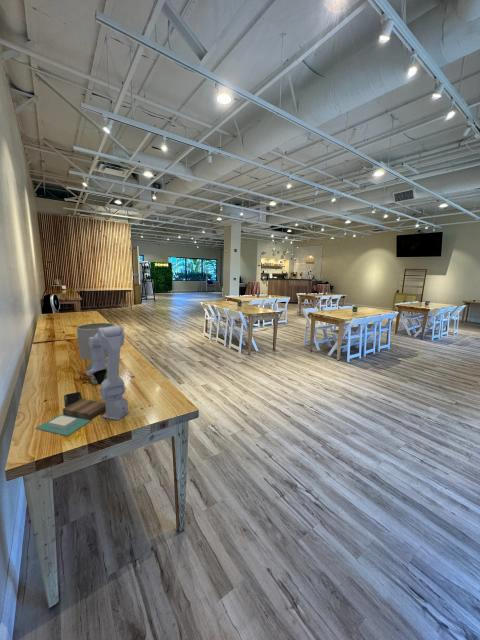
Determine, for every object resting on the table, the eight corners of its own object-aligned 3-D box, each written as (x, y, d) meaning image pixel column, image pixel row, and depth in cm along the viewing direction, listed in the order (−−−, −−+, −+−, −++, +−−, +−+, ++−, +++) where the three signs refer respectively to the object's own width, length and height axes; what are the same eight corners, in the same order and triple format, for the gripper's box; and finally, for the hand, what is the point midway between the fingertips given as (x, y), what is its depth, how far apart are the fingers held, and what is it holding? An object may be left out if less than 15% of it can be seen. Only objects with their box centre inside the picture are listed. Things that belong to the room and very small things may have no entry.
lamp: (105, 372, 181) (101, 321, 175) (124, 378, 171) (121, 324, 165) (75, 382, 164) (69, 326, 158) (94, 390, 154) (89, 330, 148)
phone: (64, 406, 134) (64, 394, 146) (65, 408, 134) (64, 396, 146) (82, 401, 138) (80, 391, 151) (83, 403, 139) (80, 393, 151)
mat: (91, 421, 122) (90, 420, 122) (67, 436, 111) (67, 435, 111) (60, 414, 127) (60, 414, 127) (35, 428, 116) (35, 428, 116)
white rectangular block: (64, 425, 114) (65, 430, 114) (76, 418, 120) (77, 422, 120) (48, 422, 116) (49, 426, 117) (61, 415, 122) (61, 419, 122)
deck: (108, 408, 133) (107, 403, 133) (90, 420, 123) (89, 414, 122) (82, 404, 137) (82, 398, 137) (63, 414, 127) (62, 408, 127)
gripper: (102, 354, 146) (104, 377, 148) (80, 362, 132) (82, 388, 135) (113, 355, 144) (115, 379, 146) (91, 364, 130) (94, 390, 133)
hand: (100, 383), depth 140 cm, fingers closed
